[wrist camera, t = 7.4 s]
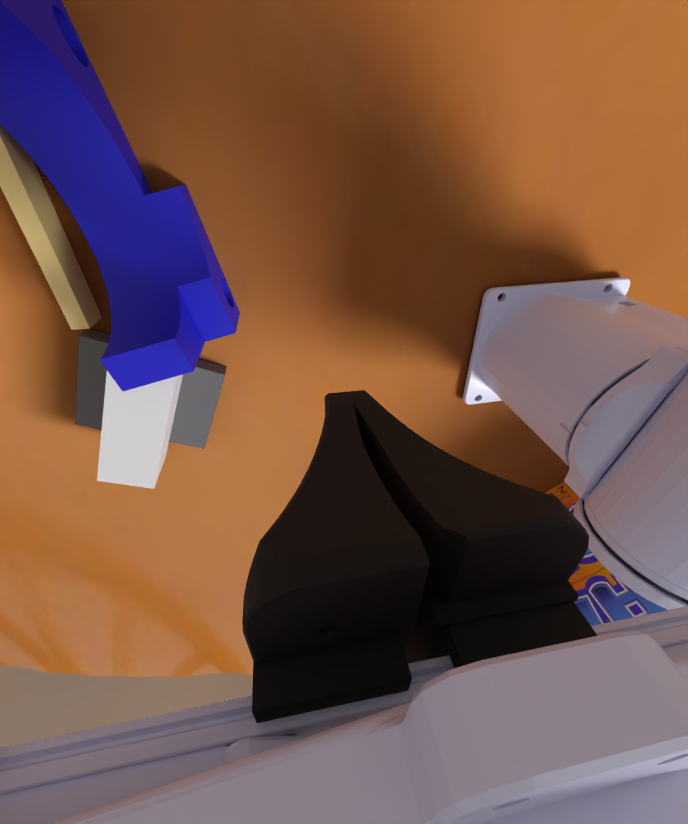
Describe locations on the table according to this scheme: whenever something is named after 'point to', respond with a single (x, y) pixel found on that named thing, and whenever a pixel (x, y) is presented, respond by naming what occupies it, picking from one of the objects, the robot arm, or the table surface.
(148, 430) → the shaft rig
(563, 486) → the game box
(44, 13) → the blue piece
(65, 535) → the table surface
